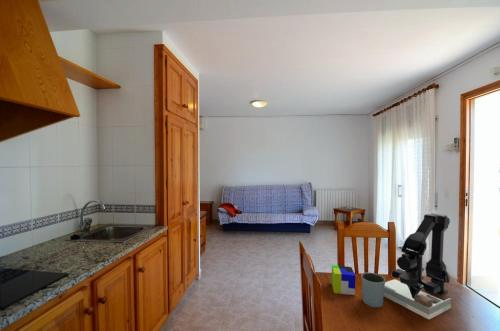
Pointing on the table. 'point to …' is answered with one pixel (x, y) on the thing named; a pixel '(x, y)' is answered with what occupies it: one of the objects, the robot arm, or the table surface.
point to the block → (423, 300)
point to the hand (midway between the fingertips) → (413, 298)
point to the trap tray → (403, 297)
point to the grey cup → (373, 289)
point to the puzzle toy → (343, 280)
